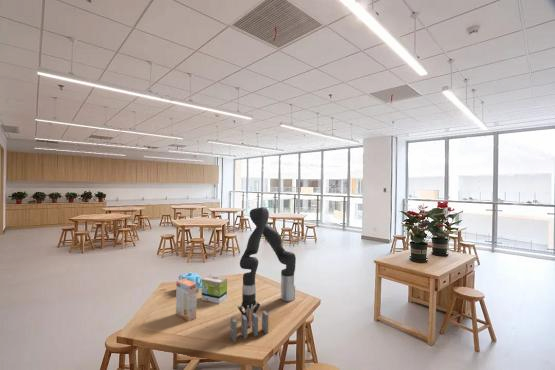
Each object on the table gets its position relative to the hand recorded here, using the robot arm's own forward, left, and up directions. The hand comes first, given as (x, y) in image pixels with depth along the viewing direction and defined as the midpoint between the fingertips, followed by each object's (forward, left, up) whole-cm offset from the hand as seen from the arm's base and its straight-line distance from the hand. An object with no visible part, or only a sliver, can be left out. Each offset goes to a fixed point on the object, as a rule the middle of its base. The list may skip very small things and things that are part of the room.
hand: (248, 321), depth 154 cm
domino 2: (+6, +10, -2) cm, 12 cm away
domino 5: (-6, +10, -2) cm, 12 cm away
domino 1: (+12, +10, -2) cm, 16 cm away
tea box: (+10, -43, -2) cm, 44 cm away
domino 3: (0, 0, -2) cm, 2 cm away
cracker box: (+31, -26, -2) cm, 41 cm away
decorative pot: (+23, -67, -2) cm, 71 cm away
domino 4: (0, +10, -2) cm, 10 cm away
